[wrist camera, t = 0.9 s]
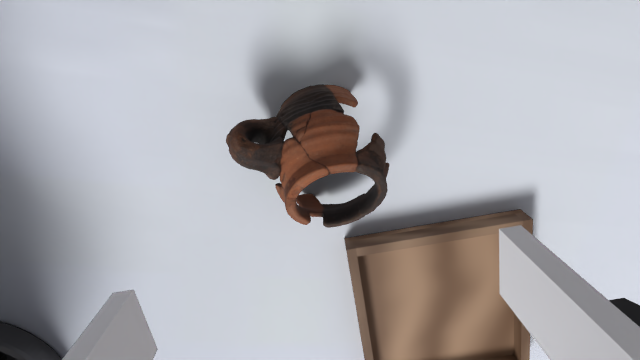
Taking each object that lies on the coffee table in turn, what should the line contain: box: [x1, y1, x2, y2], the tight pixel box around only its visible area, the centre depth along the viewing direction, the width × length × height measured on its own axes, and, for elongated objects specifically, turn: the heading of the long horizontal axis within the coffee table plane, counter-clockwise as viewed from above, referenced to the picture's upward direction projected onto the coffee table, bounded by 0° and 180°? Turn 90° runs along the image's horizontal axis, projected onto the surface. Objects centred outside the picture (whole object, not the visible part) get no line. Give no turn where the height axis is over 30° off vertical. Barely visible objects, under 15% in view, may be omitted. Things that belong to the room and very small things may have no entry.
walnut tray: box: [344, 209, 533, 360], centre depth 36 cm, size 16×17×2 cm
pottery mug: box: [226, 85, 389, 227], centre depth 29 cm, size 12×10×8 cm
